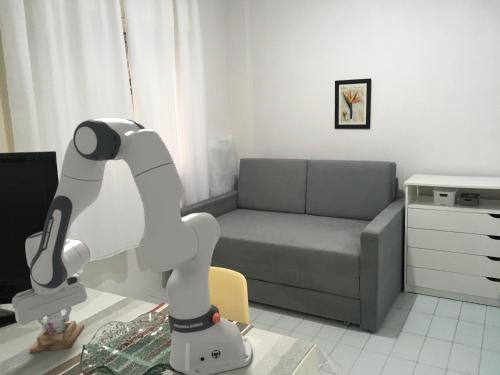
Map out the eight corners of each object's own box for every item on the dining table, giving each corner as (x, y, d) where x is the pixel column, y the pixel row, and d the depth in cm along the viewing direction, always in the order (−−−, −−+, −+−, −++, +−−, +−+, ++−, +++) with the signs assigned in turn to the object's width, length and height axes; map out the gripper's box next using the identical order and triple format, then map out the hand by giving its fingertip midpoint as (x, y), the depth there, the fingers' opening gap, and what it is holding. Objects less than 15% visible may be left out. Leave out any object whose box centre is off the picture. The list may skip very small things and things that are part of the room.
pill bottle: (48, 341, 127) (43, 316, 125) (52, 333, 132) (47, 309, 130) (64, 338, 128) (59, 313, 126) (68, 331, 133) (63, 306, 131)
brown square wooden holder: (84, 327, 136) (82, 317, 136) (71, 347, 124) (69, 337, 124) (47, 331, 136) (45, 321, 135) (30, 352, 124) (28, 341, 123)
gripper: (13, 298, 117) (22, 343, 120) (85, 274, 131) (92, 315, 133) (7, 292, 122) (16, 336, 124) (77, 270, 135) (84, 309, 138)
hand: (56, 325), depth 129 cm, fingers closed on pill bottle, 5 cm apart
